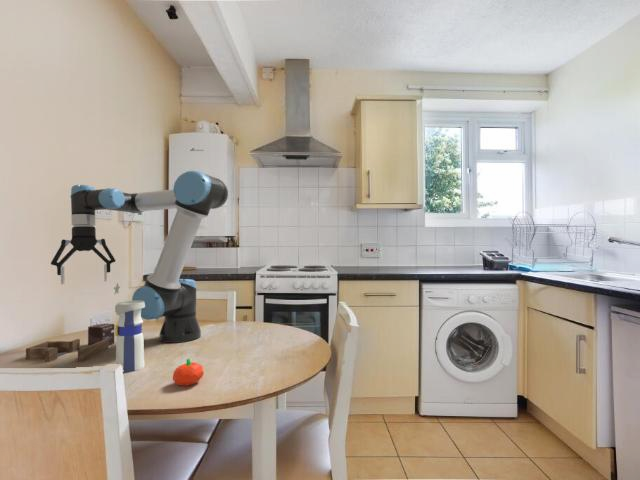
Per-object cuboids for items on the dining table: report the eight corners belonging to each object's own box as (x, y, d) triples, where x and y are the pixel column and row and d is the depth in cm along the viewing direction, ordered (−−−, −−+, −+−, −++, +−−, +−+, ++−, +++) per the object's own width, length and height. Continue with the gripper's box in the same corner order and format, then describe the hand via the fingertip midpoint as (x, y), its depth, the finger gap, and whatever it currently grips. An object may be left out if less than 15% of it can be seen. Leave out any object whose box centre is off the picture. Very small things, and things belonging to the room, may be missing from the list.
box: (101, 348, 126) (101, 327, 127) (87, 347, 128) (87, 326, 128) (114, 343, 132) (114, 323, 133) (101, 342, 134) (101, 323, 134)
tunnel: (108, 348, 125) (108, 338, 125) (81, 361, 111) (81, 350, 111) (53, 349, 125) (53, 339, 125) (19, 362, 111) (19, 350, 111)
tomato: (167, 390, 90) (164, 364, 90) (189, 378, 98) (186, 355, 98) (189, 390, 88) (186, 363, 88) (210, 378, 95) (207, 354, 95)
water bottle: (111, 375, 99) (111, 285, 100) (115, 365, 107) (115, 282, 108) (144, 370, 103) (144, 283, 103) (145, 362, 110) (145, 281, 111)
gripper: (121, 227, 144) (123, 279, 143) (44, 227, 132) (46, 284, 132) (121, 225, 137) (122, 280, 137) (40, 225, 126) (41, 286, 125)
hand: (84, 282), depth 134 cm, fingers open, 13 cm apart
